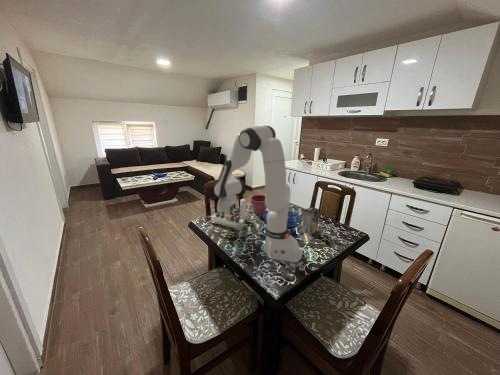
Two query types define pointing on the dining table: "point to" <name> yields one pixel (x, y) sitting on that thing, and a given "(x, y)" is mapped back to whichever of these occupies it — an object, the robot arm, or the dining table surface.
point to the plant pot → (258, 204)
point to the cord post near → (243, 208)
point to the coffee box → (310, 220)
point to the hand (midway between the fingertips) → (227, 213)
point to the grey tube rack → (228, 220)
